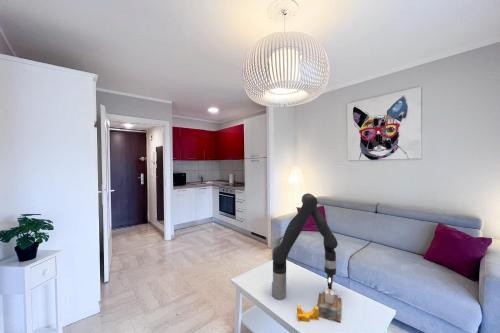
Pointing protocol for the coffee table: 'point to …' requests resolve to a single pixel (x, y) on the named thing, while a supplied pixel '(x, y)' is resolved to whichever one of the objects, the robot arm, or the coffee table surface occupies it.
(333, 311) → the gauge board
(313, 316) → the pipe clamp
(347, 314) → the coffee table surface
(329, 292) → the white cube with stick
